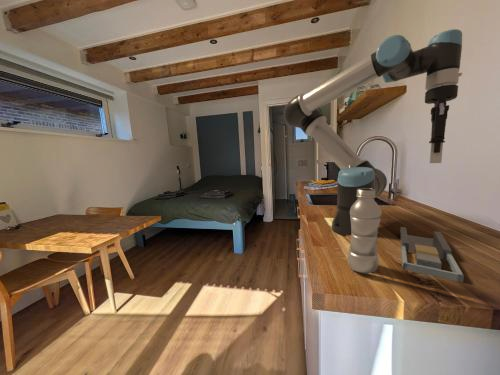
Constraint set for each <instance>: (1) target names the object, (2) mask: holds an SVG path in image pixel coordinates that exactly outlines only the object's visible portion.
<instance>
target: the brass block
mask: <svg viewBox="0 0 500 375" xmlns="http://www.w3.org/2000/svg"><path fill="white" fill-rule="evenodd" d="M416 252H421V253H427V254H432V255H438V256H439V254H438V251H437V249H436V248H435V247H429V246H423V245H417V244H415V247H414V253H413V256H414V257H415V254H416Z"/></svg>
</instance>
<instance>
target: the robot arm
mask: <svg viewBox="0 0 500 375" xmlns="http://www.w3.org/2000/svg"><path fill="white" fill-rule="evenodd" d="M462 50H463V32H462V30H460V29H455V28H453V29H448V30H446V31H442V32H440V33H438V34H436V35H434V36H432V37H431V38H430V40H429V41H428V44H427V46H425V47H423V48H420V49H417V50H413V49H412V45H411V43H410V42H409V40H408V39H407V38H406V37H404V36H403V35H401V34H393V35H391V36H387V37H386V38H385V39H384V40H382V42H381V43H380V44H379V45H378V47H377V49H376V51H375V52H373V53H371V54H370V55H368V56H366V57H365V58H363V59H362V60H361V59H360V60H359V61H358V62H356V63H354V64H353V65H351V66H349V67H348V68H346V69H345V70H343V71H341V72H339V73H338V74H336V75H334V76H333V77H331V78H330V79H328V80H326V81H325V82H323V83H321V84H319V85H318V86H316V87H315V88H313V89H311V90H309V91H308V92H306V93H304V92H301V93H299V94H298V95H296V96H295V97H293V98H291V99H290V100H289V101H288V103H287V104H286V105H285V107H284V109H283V119H284V121H285V123H286V124H287V125H288V126H290V127H293V128H298V129H300V130H301V131H302V132H303V133H304V135H306V136H307V137H312V138H313V140H314V141H315V142H316V143H317V144H318V146H319V147H321V149H323V151H324V152H325V153H326V155H327V156H328V157H329V158H330V159H331V160H332V162H334V164H335V165H336V166H337V168H339V169H340V170H339V172H338V174H337V175H338V176H337V179H336V180H337V200H336V201H337V204H336V206H337V207H336V212H335V214H334V217H333V220H332V222H331V230H332V231H333V232H334V233H336V234H339V235H341V236H344V237H346V236H351V233H352V232H351V219H350V209H351V206H352V205H353V204H354V203H355V201H356V200H357V199H358V197H356V195H357V189H360V188H368V189H375V196H376V197H378V196H380V194H382V193H383V192H384V191H385V190H386V188H387V186H388V178H387V175H386V174H385V173H384V172H383V171H382V170H381V169H379V168H376V167H374V166H373V165H372V163H370V161H369V160H367V159H361V158H360V157H359V156H358V154H356V152H354V150H352V148H351V147H350V146H349V145H348V144H347V143H346V142H345V141H344V140H343V139H342V138H341V137H340V136H339V134H337V133H336V131H335V130H334V129H333V128H332V127H331V126H330V125H329V124H328V123H327V117H326V116H325V114H324V111H323V109H322V108H321V107H323V106H325V105H327V104H329V103H331V102H333V101H335V100H337V99H339V98H341V97H343V96H345V95H347V94H348V93H350V92H353V91H354V90H357V89H359V88H360V87H363V86H365V85H367V84H369V83H370V82H372V81H375V80H376V79H378V78H380V77H382V79H383V82H384V83H393V82H398V81H401V80H404V79H408V78H412V77H416V76H419V75H422V74H425V73H426V77H425V88H424V89H425V93H424V95H425V96H424V103H425V104H428V105H431V104H434V105H433V107H431V109H430V115H431V117H430V122H431V132H430V133H431V134H430V136H431V137H430V140H429V142H428V143H429V144H430V155H429V164H442V159H443V146H444V143H446V140H445V139H446V138H445V133H446V125H447V120H448V111H449V110H450V105H449V104H447V102H450V101H452V100H455V99H457V97H458V92H459V85H457V84H458V83H459V80H460V77H461V76H462V75H463V73H462V72H460V68H461V58H462Z"/></svg>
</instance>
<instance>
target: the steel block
mask: <svg viewBox="0 0 500 375" xmlns="http://www.w3.org/2000/svg"><path fill="white" fill-rule="evenodd" d="M414 262H415V264H416V265H421V266H426V267H430V268H435V269H440V270H442V261H441V258H439V256H438V255H432V254H427V253H421V252H416V254H415V256H414Z"/></svg>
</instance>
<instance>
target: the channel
mask: <svg viewBox="0 0 500 375" xmlns="http://www.w3.org/2000/svg"><path fill="white" fill-rule="evenodd" d="M399 230H400V231H399V237H400V239H399V241H400V249H402V246H405V248H406V253H411V254H414V247H415V244H417V245H423V246H429V247H435V248H436V249H437V251H438V254H439V259H440V260H447V254H451V255H452V256H453V254H452V253H453V252H452V251H453V250H452V249H451V247H450V245H449V243H448V242H447V240H446V239H445V237H444V235H443V234H442V232H441V231H433V238H430V237H422V236H416V235H410V234H408V231H407V227H405V226H400V229H399Z"/></svg>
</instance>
